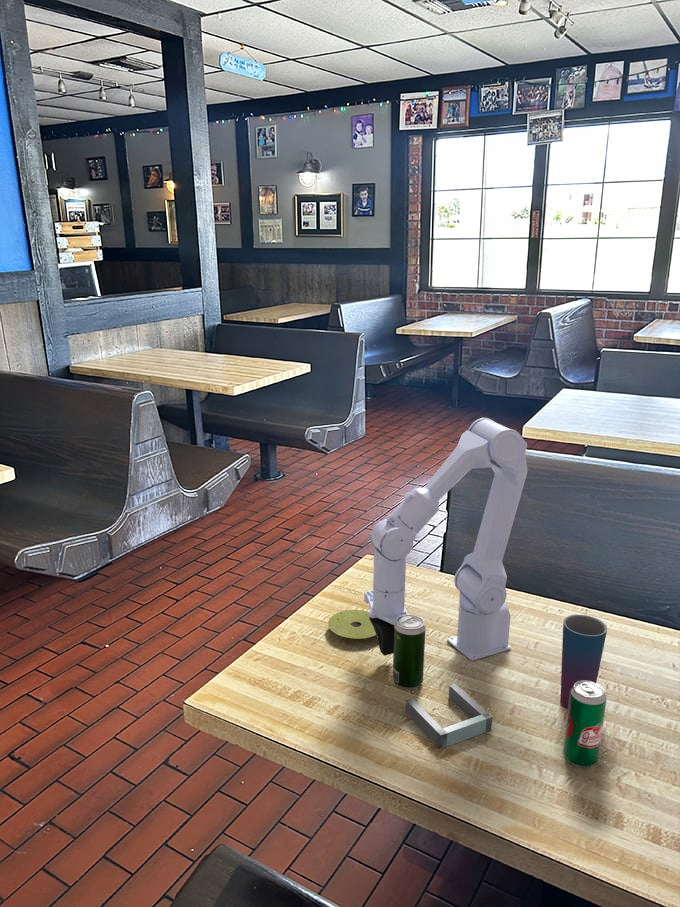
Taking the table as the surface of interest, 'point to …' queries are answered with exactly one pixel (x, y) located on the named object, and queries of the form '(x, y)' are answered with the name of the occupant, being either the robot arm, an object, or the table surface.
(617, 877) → the table surface
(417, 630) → the beer can
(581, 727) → the soda can
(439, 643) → the table surface
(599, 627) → the cup
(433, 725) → the dock
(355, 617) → the green disc with hole
